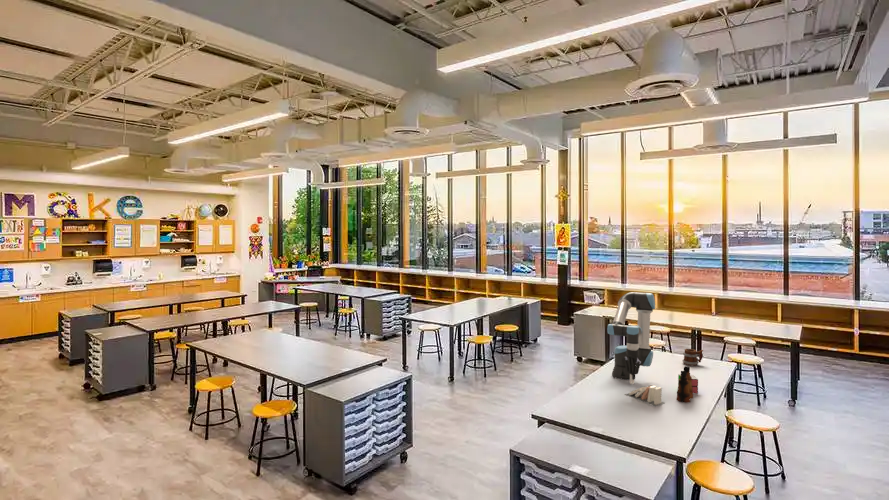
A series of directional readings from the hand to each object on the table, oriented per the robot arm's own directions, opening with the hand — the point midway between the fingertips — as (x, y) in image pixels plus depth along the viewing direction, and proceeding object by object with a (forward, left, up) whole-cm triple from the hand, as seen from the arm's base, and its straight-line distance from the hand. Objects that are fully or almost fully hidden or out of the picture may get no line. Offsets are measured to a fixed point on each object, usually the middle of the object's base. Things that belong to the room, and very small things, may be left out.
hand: (632, 383), depth 319 cm
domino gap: (+10, 0, -7) cm, 12 cm away
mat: (+9, 0, -8) cm, 12 cm away
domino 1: (0, 0, -7) cm, 7 cm away
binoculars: (+22, +24, -8) cm, 34 cm away
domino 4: (+19, 0, -8) cm, 21 cm away
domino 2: (+5, 0, -7) cm, 9 cm away
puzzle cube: (+14, +40, -8) cm, 43 cm away
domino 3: (+14, 0, -7) cm, 16 cm away
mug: (-21, +103, -8) cm, 105 cm away
